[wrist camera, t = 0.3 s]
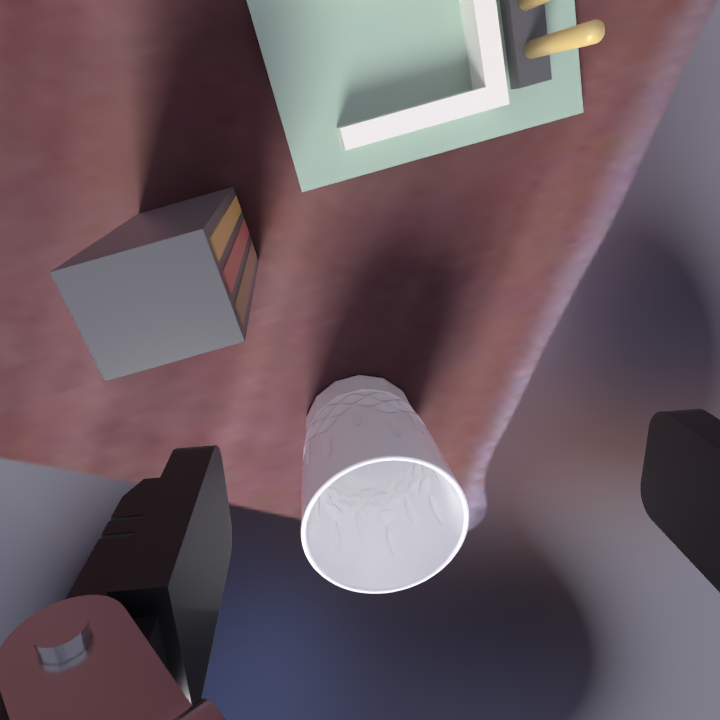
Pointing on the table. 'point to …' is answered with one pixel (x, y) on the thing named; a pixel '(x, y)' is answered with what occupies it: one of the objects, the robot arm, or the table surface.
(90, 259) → the block
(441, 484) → the white cup
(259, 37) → the header board
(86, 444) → the table surface
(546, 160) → the table surface
